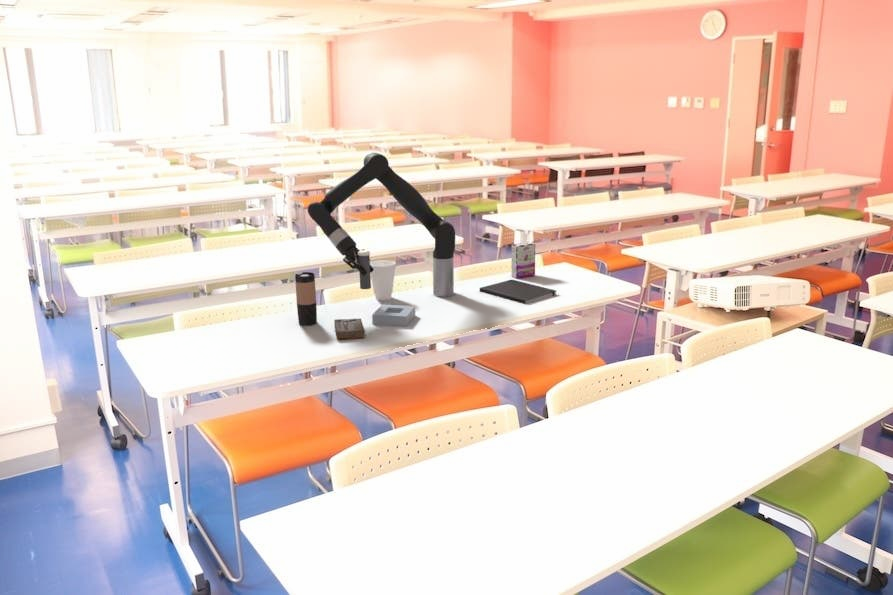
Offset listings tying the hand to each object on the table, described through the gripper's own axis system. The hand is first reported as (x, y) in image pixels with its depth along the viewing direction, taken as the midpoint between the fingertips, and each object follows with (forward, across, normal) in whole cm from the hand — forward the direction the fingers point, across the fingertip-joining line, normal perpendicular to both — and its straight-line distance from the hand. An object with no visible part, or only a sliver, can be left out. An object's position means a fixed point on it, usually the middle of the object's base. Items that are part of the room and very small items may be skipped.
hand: (368, 272), depth 300 cm
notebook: (+45, +55, -18) cm, 73 cm away
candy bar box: (+38, +83, -12) cm, 93 cm away
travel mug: (+1, -22, +24) cm, 32 cm away
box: (+16, -24, +9) cm, 30 cm away
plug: (+3, 0, +6) cm, 7 cm away
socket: (+22, -3, +3) cm, 22 cm away
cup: (+8, +21, +18) cm, 29 cm away
